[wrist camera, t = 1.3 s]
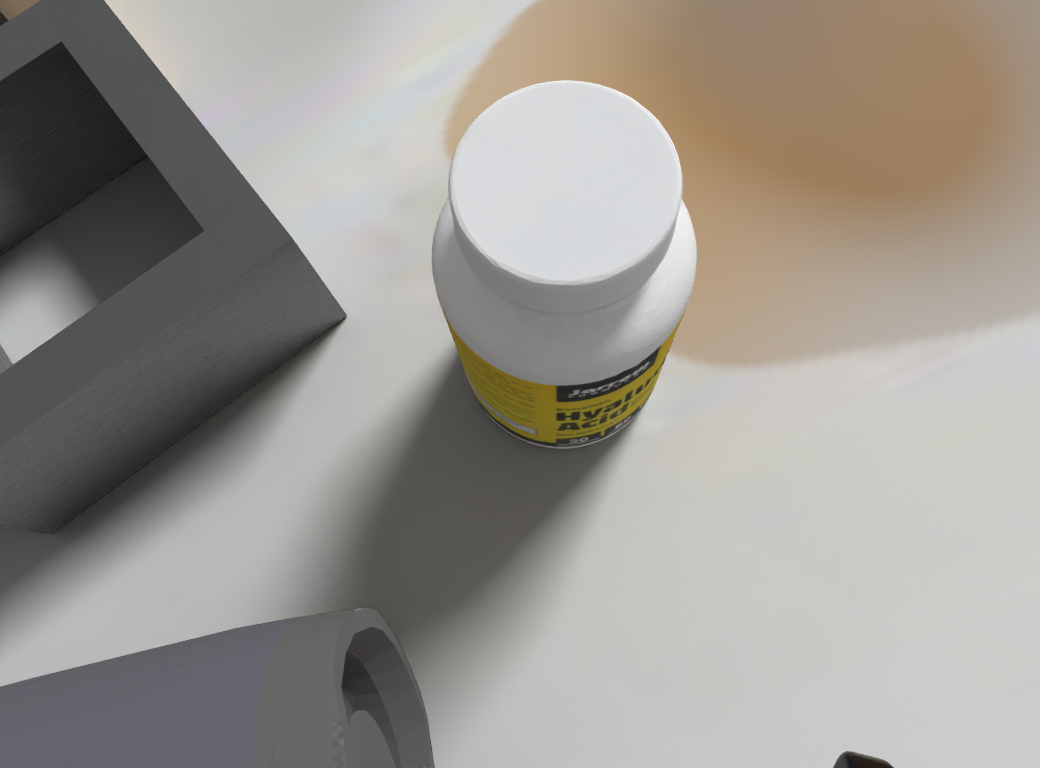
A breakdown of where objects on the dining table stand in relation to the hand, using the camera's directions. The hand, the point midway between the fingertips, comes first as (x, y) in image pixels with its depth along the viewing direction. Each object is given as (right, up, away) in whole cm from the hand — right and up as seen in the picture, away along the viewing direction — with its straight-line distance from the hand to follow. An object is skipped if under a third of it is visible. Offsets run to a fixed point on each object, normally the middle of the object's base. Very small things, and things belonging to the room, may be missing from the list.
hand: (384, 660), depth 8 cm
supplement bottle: (+3, +3, +15) cm, 16 cm away
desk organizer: (-13, +8, +17) cm, 23 cm away
